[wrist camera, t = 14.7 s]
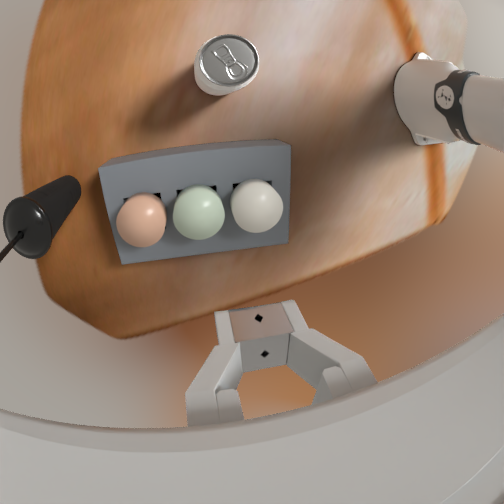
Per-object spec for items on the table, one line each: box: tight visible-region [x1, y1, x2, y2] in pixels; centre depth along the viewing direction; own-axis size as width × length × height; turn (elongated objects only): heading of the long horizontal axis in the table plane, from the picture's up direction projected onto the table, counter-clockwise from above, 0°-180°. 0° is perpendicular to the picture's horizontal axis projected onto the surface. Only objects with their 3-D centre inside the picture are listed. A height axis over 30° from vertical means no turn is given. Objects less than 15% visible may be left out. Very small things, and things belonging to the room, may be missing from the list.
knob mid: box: [173, 184, 225, 240], centre depth 34 cm, size 6×6×8 cm
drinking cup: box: [0, 176, 81, 262], centre depth 25 cm, size 8×8×20 cm
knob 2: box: [230, 179, 283, 233], centre depth 35 cm, size 6×6×8 cm
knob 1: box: [116, 192, 167, 247], centre depth 33 cm, size 6×6×8 cm
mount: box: [98, 139, 291, 264], centre depth 36 cm, size 24×14×6 cm, turn 91°
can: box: [194, 34, 259, 96], centre depth 25 cm, size 6×6×12 cm
